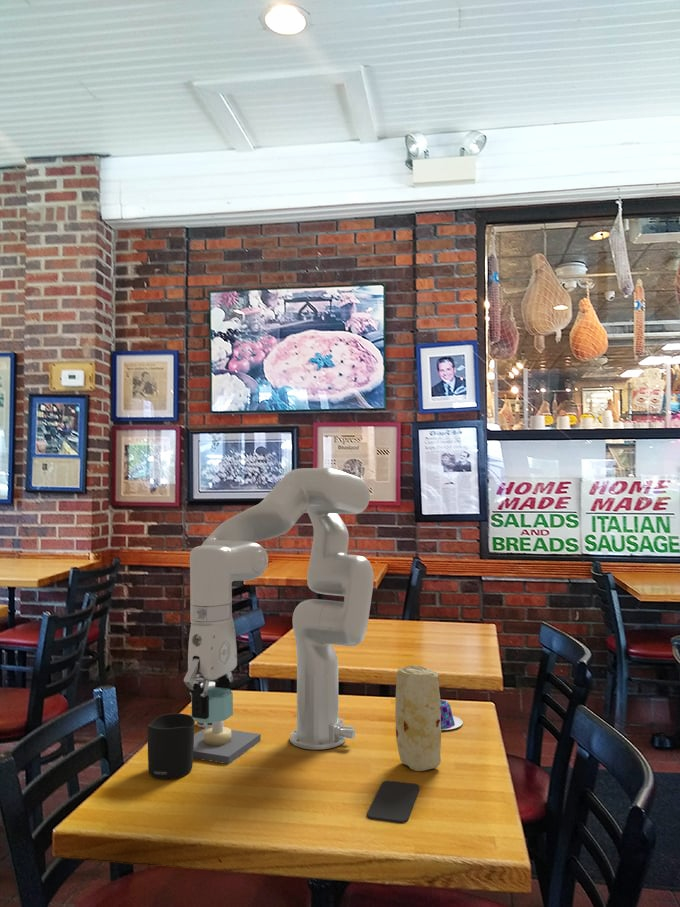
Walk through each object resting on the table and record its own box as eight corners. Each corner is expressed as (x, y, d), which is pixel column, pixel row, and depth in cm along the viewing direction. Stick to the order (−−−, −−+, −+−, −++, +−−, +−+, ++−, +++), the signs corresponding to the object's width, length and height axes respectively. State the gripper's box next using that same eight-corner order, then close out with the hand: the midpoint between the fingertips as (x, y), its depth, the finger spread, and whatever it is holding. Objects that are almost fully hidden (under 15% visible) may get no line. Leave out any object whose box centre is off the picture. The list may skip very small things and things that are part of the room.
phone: (364, 816, 116) (382, 779, 130) (364, 821, 116) (383, 784, 130) (407, 821, 114) (420, 784, 128) (407, 826, 114) (420, 788, 128)
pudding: (413, 732, 158) (413, 709, 159) (413, 715, 170) (412, 694, 171) (464, 733, 157) (464, 711, 158) (460, 716, 169) (460, 695, 169)
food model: (445, 764, 139) (444, 666, 140) (436, 776, 133) (435, 674, 134) (400, 756, 143) (400, 661, 144) (389, 768, 137) (389, 668, 138)
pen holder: (138, 770, 136) (139, 720, 137) (181, 758, 142) (181, 710, 143) (158, 785, 129) (159, 732, 130) (202, 772, 135) (203, 721, 136)
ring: (238, 711, 125) (238, 689, 125) (218, 724, 118) (218, 701, 118) (206, 707, 127) (206, 685, 127) (185, 719, 121) (184, 697, 121)
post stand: (260, 740, 152) (260, 704, 153) (228, 764, 139) (229, 724, 140) (207, 733, 157) (207, 698, 158) (172, 754, 144) (172, 716, 145)
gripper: (202, 624, 114) (203, 730, 113) (252, 605, 130) (253, 697, 129) (165, 621, 117) (166, 724, 116) (218, 603, 133) (219, 693, 132)
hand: (212, 709), depth 123 cm, fingers closed on ring, 7 cm apart
